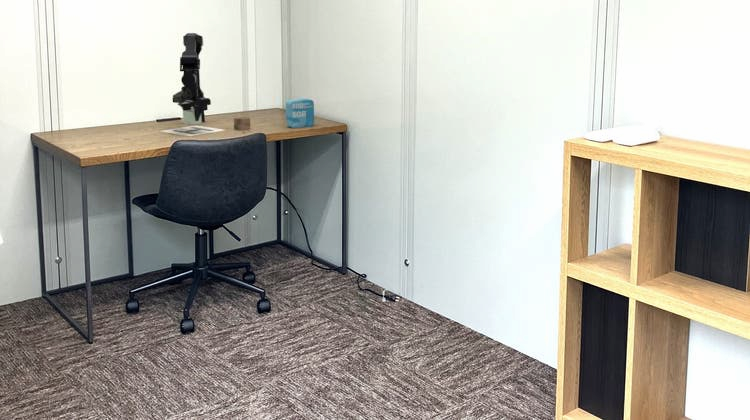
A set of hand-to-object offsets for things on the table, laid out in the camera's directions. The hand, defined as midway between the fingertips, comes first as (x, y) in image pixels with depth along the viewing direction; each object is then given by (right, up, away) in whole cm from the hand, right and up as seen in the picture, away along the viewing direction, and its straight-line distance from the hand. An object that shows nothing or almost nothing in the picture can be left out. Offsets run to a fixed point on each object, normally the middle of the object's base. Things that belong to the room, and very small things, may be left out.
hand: (192, 120), depth 395 cm
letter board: (0, -5, +1) cm, 5 cm away
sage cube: (0, -1, 0) cm, 1 cm away
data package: (+45, -1, +19) cm, 49 cm away
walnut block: (+21, -4, +5) cm, 22 cm away
